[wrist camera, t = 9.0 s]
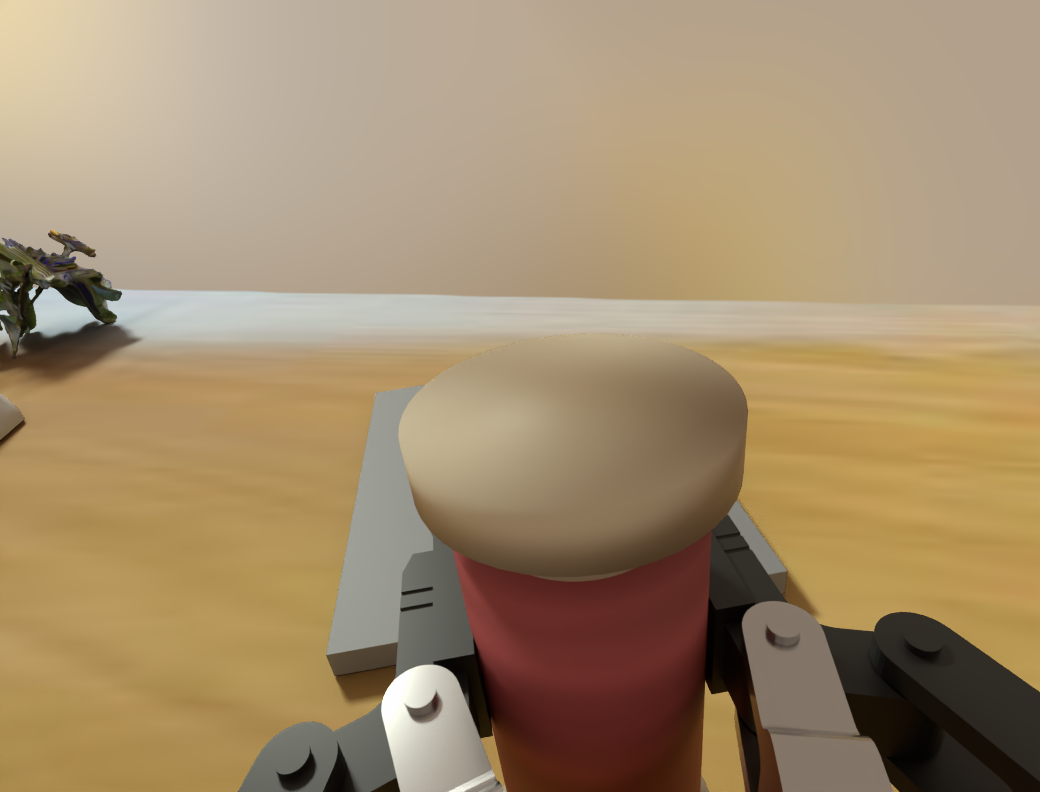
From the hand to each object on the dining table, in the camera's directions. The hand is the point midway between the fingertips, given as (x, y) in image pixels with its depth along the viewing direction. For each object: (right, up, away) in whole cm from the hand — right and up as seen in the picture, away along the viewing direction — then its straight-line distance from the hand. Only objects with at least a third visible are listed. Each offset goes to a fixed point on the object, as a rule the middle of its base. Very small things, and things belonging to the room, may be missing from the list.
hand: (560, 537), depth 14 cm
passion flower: (-42, +8, +40) cm, 59 cm away
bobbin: (+1, -7, +1) cm, 8 cm away
